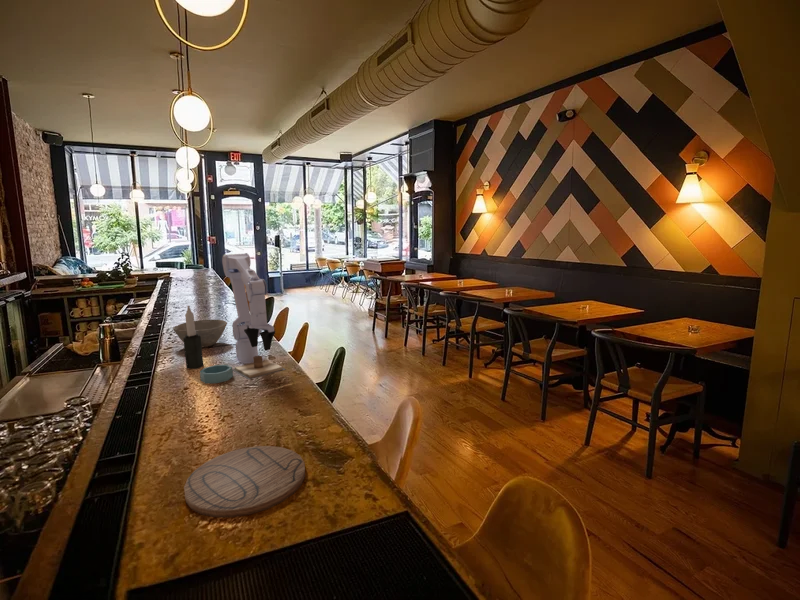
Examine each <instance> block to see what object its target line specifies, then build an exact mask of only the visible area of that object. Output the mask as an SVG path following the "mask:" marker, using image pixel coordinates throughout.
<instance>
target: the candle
mask: <svg viewBox="0 0 800 600" xmlns="http://www.w3.org/2000/svg"><path fill="white" fill-rule="evenodd" d="M186 307H187V310H186V313H184V314H185V315H184V316H185V317H184V318H185V323H186V326H187V335H185V337H184V338H183V341H184V342H183V341H182V342H183V347H184V348H183V350H184V357H185V367H186V370H190V369H191V370H198V369H200V368H202V367H203V366H204V358H203V357H204V356H203V351H202V350H203V347H202V346H201V337H200V335H198V334H196V332H195V323H194V321H195V315H194V312H192V310H191V308H190V305H187V306H186Z"/></svg>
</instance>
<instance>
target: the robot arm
mask: <svg viewBox="0 0 800 600" xmlns="http://www.w3.org/2000/svg"><path fill="white" fill-rule="evenodd" d="M221 260H222V268H223V273H224V275H225V277H227V278H228V279H229V280H230V283H231V287H232V293H233V299H234V303H235V307H236V313H237V317H236V318H235V319H234V320H233V322H232V325H231V326H232V335H233V339H234V340H235V341H236V343H235V353H236V358H234V360H236V362H240V363H241V364H242V365H246V364H251V363H254V360H253V357H254V356H259V351H258V342H259V338H260V337H261V339H262V345H263V349H264V351H269V350H271V346H272V341H273V338H274V336H275V333H276V330H275V328H274V325H271V324H269V323H268V316H267V306H266V305H267V304H266V296H265V295H267V294H268V293H267V292H268V285H267V282H266V281H265V279H264V278H260V277H259V276H258V274H257V273H256V271H255V270H254V269H251V258H250V255H249V253H248V252H245V253H234V254H233V253H231V254H229V253H228V254H223V255H222V259H221Z"/></svg>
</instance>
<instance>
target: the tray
mask: <svg viewBox="0 0 800 600" xmlns="http://www.w3.org/2000/svg"><path fill="white" fill-rule="evenodd" d="M282 368H283V369H282V370H278V371H275V372H271V373H267V374H263V375H259V376H256V377H252V378H249V377H247V376H245V375H243V374H242V373H240V372H238V371H236V370H235V368H232V370H233V372H234V373H236V374H237V375H239V376H241V377H243V378H245V379H246V380H251V379H255V378H259V377H264V376H267V375H270V374H271V375H272V374H275V373H278V372H281V371H282V372H283V371H286V370H287V369H286V368H284V367H282Z"/></svg>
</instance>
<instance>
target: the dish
mask: <svg viewBox="0 0 800 600" xmlns="http://www.w3.org/2000/svg"><path fill="white" fill-rule="evenodd" d="M233 372H234V371H233V367H232V366H231V365H229V364H215V365H211V366H207V367H204V368H202V369H201V370H199V376H200V382H202V383H204V384H218V383H219V384H220V383H224V382H227V381H229V380H230V379H232V378H233V377H234V373H233Z"/></svg>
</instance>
